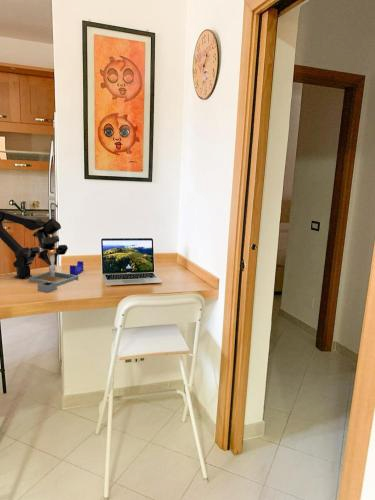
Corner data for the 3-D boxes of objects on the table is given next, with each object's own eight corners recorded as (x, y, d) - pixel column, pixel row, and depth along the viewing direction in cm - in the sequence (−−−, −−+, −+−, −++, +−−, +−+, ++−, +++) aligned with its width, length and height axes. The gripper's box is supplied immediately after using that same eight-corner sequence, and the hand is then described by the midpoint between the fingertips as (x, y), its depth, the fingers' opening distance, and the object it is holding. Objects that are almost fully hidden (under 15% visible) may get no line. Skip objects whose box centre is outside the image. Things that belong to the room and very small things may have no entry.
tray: (28, 283, 191) (28, 277, 190) (51, 276, 205) (50, 271, 205) (57, 289, 184) (57, 283, 184) (78, 281, 199) (78, 275, 198)
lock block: (37, 293, 176) (37, 284, 175) (46, 290, 182) (46, 281, 181) (48, 295, 174) (47, 286, 173) (56, 292, 180) (56, 283, 179)
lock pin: (46, 276, 189) (45, 250, 186) (51, 274, 193) (51, 248, 190) (52, 277, 187) (52, 251, 185) (58, 275, 191) (57, 249, 188)
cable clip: (76, 270, 220) (75, 260, 219) (83, 271, 219) (83, 261, 218) (67, 276, 208) (67, 265, 207) (75, 276, 208) (75, 266, 206)
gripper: (29, 231, 182) (38, 258, 176) (66, 229, 195) (75, 254, 189) (24, 244, 190) (32, 270, 184) (60, 241, 202) (69, 266, 196)
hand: (53, 265), depth 188 cm, fingers closed on lock pin, 3 cm apart
